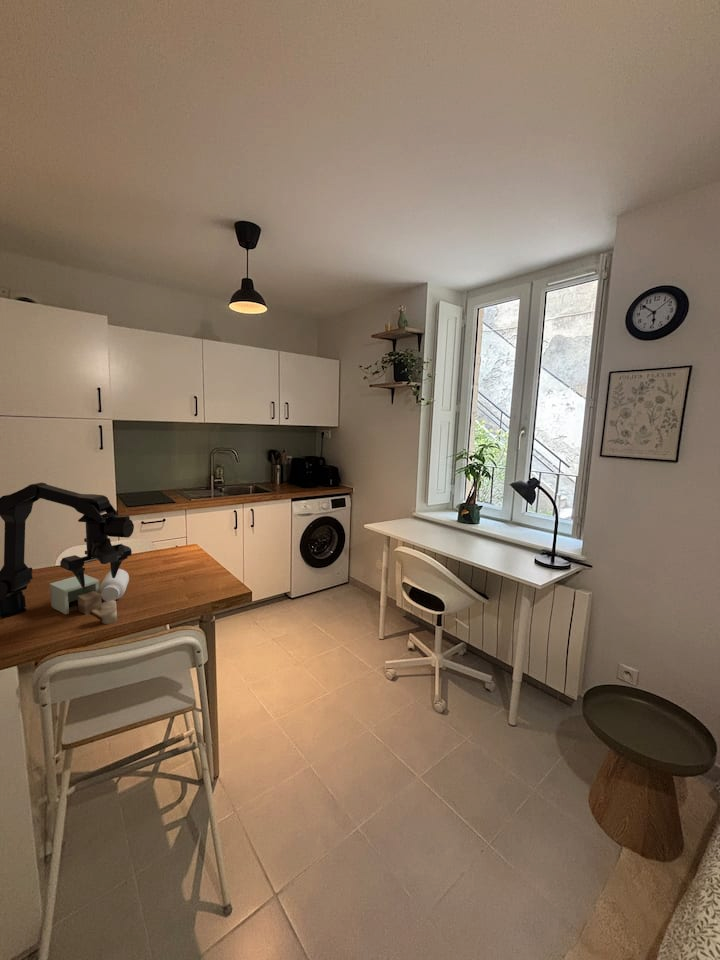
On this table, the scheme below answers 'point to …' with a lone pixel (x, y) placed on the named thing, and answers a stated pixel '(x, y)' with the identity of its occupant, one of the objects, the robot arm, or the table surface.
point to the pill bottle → (114, 585)
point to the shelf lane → (70, 591)
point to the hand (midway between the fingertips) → (98, 582)
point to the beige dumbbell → (98, 607)
